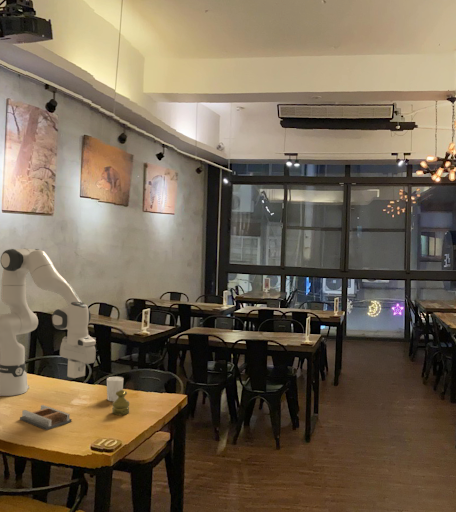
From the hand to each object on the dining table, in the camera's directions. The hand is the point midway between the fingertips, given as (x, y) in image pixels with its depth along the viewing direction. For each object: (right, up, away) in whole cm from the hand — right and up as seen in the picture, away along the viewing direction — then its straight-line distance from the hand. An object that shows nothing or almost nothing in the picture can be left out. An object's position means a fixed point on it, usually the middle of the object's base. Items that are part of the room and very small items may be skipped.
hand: (76, 370), depth 214 cm
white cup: (+12, -19, +19) cm, 30 cm away
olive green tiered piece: (+19, -19, +1) cm, 27 cm away
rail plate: (-9, -18, -12) cm, 24 cm away
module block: (0, -3, 0) cm, 3 cm away
